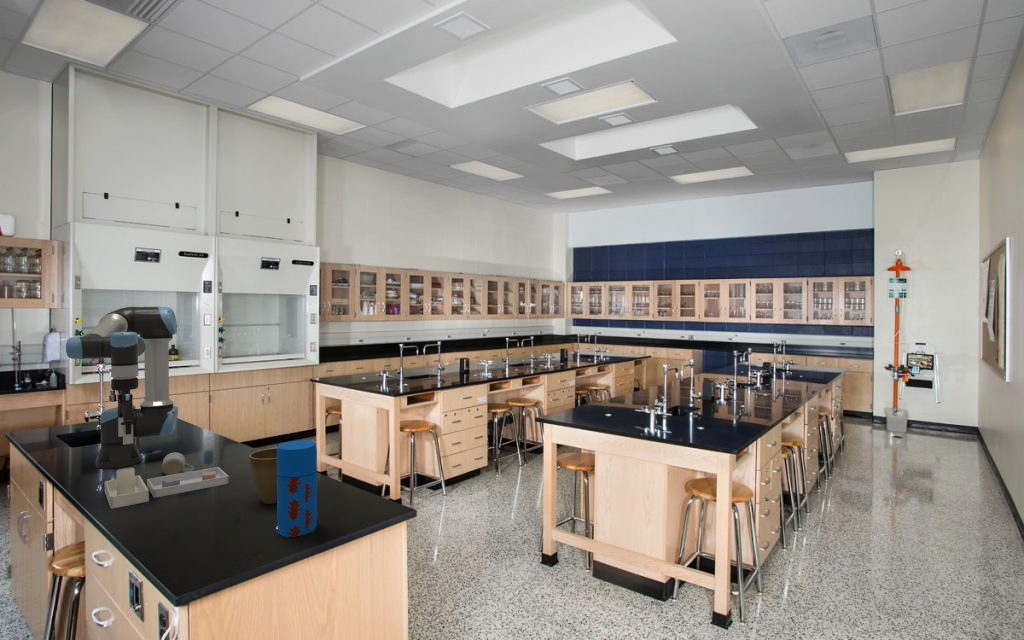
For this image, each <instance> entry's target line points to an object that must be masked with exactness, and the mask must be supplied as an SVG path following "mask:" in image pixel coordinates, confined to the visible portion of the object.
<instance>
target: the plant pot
mask: <svg viewBox="0 0 1024 640" xmlns="http://www.w3.org/2000/svg"><path fill="white" fill-rule="evenodd" d="M249 459H250V465H251V466H250V467H251V471H252V476H253V481H254V483H255V487H256V490H257V492H258V495H259V497H260V500H261V502H262V503H263V504H269V505H272V504H277V447H276V448H268V449H261V450H258V451H254V452H252V453H250V454H249Z"/></svg>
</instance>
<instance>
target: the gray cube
mask: <svg viewBox="0 0 1024 640" xmlns="http://www.w3.org/2000/svg"><path fill="white" fill-rule="evenodd" d="M175 485H180V480H179V479H177V478H171V479H167V480H162V488H164V487H170V486H175Z"/></svg>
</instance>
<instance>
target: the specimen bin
mask: <svg viewBox="0 0 1024 640" xmlns="http://www.w3.org/2000/svg"><path fill="white" fill-rule="evenodd" d="M104 493H105V496H106V499H107V501H108V502H107V503H108V504H109V508H110V509H111V510H113V509H118V508H123V507H128V506H133V505H139V504H144V503H149V501H150V491H149V489H148V488H147V484H145V482H144V480H143V478H142V477H141V475H139V474H138V475H135V492H134V493H129V494H123V495H118V496H117V478H115V479H110V480H104Z"/></svg>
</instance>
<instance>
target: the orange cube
mask: <svg viewBox="0 0 1024 640" xmlns="http://www.w3.org/2000/svg"><path fill="white" fill-rule="evenodd" d="M214 478H216V471H214V472H204V473H203V475H202V481H203V480H208V479H214Z"/></svg>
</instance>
